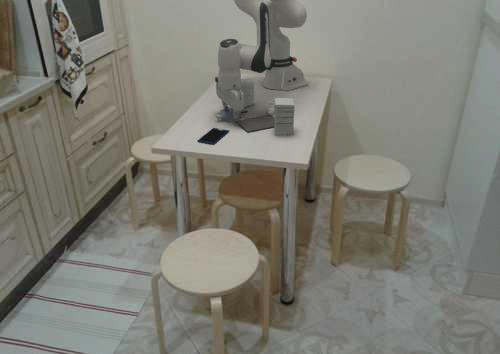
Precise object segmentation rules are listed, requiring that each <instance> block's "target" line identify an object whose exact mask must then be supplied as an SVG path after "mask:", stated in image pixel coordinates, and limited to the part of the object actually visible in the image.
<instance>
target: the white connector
mask: <svg viewBox="0 0 500 354" xmlns="http://www.w3.org/2000/svg"><path fill="white" fill-rule="evenodd" d="M274 105H275V102H267V103H266V115H271V116H274Z"/></svg>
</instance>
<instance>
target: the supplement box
mask: <svg viewBox="0 0 500 354" xmlns="http://www.w3.org/2000/svg"><path fill="white" fill-rule="evenodd" d="M273 117H274V128H273V130H274V135H275V136H294V128H295V127H294V123H295V102H294V97H293V98H292V97H275V98H274V115H273Z"/></svg>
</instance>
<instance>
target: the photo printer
mask: <svg viewBox="0 0 500 354" xmlns="http://www.w3.org/2000/svg"><path fill="white" fill-rule="evenodd" d="M239 88H240V91H242V92H243V95H244V106H245V108H247V107H251V106H254V105H255V80H254V78H253V79H252V78H250V77H249V78H248V77H243V78H241V87H239Z"/></svg>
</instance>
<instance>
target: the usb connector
mask: <svg viewBox="0 0 500 354" xmlns="http://www.w3.org/2000/svg"><path fill="white" fill-rule="evenodd" d="M233 113H234V111H233V109H232V108H231V107H229V109H224V108H223V109H221V110H220V114H215V118H216V120H219V119H220V121H221V122H225V123H227V122H231V121H237V120H241V116H242V114H246V113H248V110H243V111H239V113H238V118H237V119H234V118H233Z"/></svg>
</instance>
